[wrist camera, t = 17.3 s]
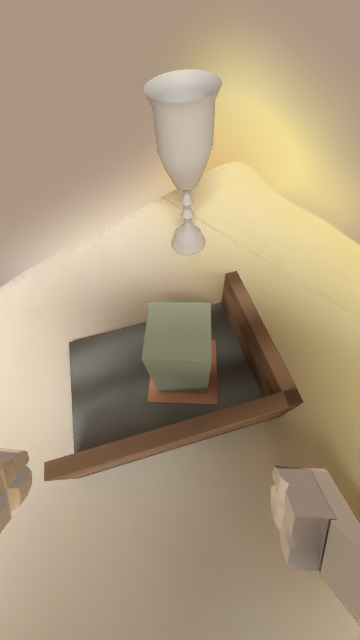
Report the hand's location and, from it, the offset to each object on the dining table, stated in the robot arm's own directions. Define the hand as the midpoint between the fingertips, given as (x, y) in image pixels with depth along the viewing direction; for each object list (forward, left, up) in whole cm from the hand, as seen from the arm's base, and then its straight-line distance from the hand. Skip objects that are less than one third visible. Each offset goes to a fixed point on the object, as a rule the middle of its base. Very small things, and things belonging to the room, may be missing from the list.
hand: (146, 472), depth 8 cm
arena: (+9, -1, -17) cm, 19 cm away
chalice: (+28, -9, -17) cm, 34 cm away
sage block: (+9, -3, -16) cm, 19 cm away
